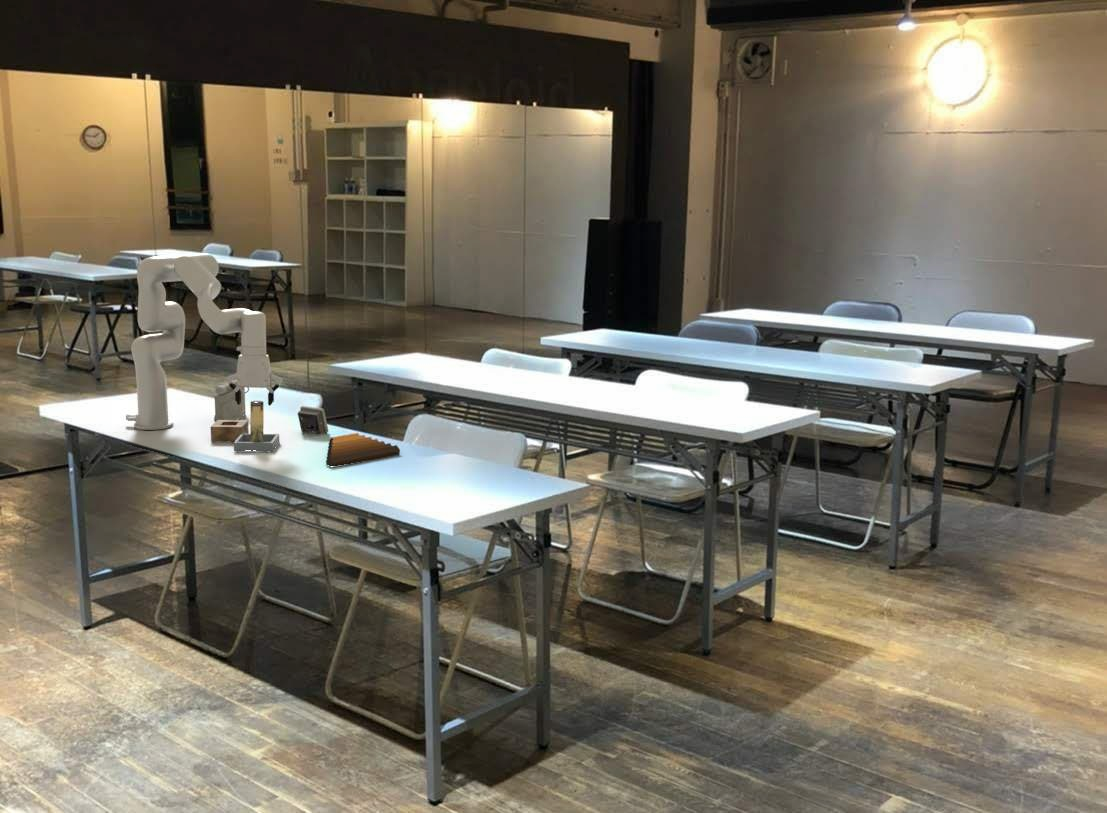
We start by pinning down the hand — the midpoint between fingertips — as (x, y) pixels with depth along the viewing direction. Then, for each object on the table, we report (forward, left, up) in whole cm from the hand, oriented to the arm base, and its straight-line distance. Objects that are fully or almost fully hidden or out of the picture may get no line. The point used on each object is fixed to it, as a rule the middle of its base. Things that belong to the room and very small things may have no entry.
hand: (254, 404), depth 328 cm
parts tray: (0, 0, -14) cm, 14 cm away
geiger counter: (-16, +36, -14) cm, 42 cm away
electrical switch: (+15, +20, -14) cm, 29 cm away
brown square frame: (-11, +12, -14) cm, 21 cm away
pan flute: (+29, -7, -15) cm, 33 cm away
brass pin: (0, 0, -13) cm, 13 cm away
